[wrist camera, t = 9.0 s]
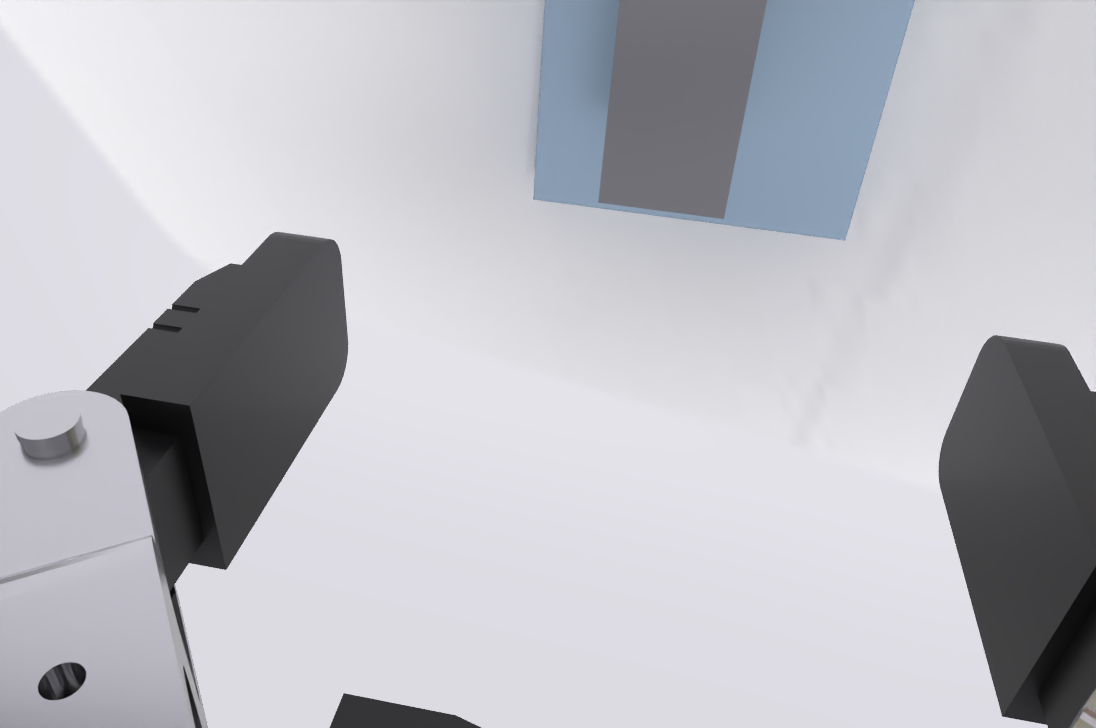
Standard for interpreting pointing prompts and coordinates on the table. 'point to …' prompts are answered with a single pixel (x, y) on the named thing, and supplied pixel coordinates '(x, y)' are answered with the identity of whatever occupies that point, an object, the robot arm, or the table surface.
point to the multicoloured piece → (715, 107)
